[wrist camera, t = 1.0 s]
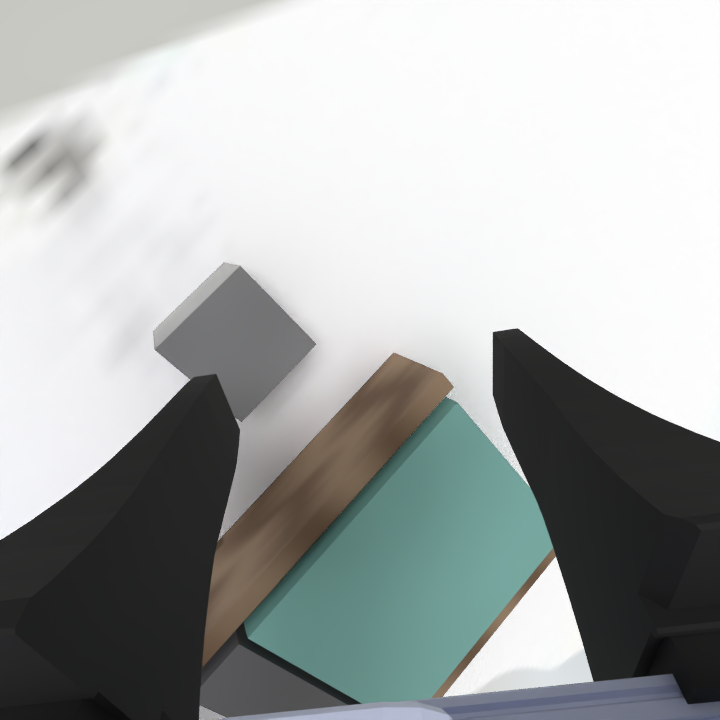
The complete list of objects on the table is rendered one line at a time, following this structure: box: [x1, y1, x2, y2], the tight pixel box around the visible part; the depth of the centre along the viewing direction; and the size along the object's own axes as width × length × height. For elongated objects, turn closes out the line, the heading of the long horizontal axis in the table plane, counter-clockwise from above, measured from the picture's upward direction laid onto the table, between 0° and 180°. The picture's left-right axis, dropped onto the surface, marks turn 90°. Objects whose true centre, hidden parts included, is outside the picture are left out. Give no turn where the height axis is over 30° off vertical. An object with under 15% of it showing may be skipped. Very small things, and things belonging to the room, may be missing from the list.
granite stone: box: [153, 263, 316, 422], centre depth 21 cm, size 4×4×4 cm
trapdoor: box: [200, 397, 553, 718], centre depth 25 cm, size 18×12×3 cm
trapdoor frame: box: [202, 353, 556, 698], centre depth 27 cm, size 20×15×5 cm
